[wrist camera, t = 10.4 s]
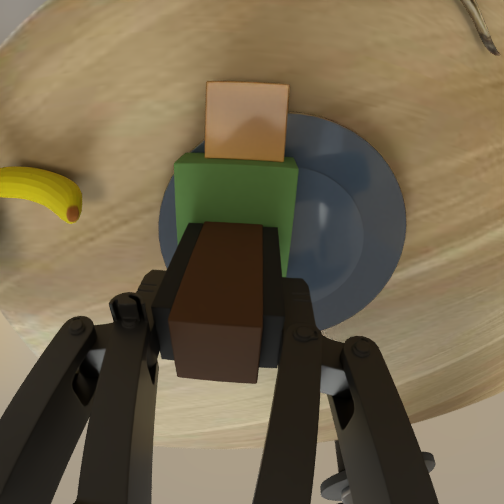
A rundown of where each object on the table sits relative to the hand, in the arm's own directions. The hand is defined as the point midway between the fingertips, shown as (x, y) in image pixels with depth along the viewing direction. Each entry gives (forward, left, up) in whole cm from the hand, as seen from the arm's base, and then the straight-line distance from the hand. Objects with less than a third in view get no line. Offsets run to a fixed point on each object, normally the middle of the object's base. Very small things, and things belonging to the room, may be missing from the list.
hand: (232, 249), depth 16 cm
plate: (-1, -3, -4) cm, 5 cm away
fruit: (+2, +14, -4) cm, 15 cm away
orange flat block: (+6, 0, -3) cm, 7 cm away
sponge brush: (0, 0, -3) cm, 3 cm away
